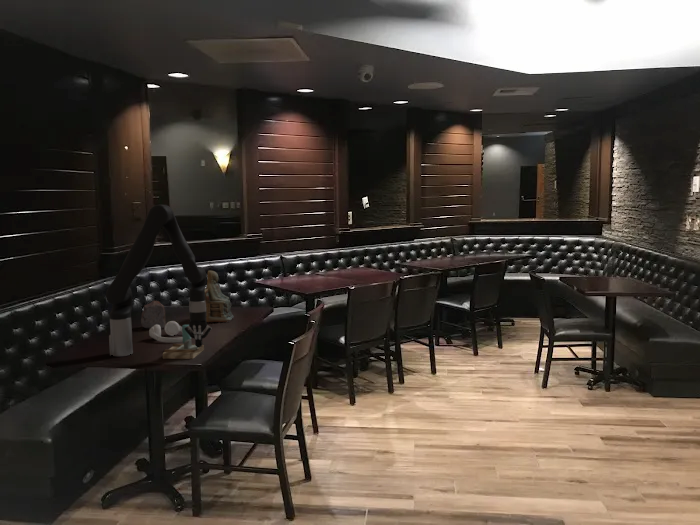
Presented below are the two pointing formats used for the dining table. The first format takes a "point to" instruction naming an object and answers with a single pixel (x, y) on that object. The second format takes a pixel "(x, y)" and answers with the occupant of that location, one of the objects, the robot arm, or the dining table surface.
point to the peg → (185, 334)
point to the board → (181, 352)
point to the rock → (153, 315)
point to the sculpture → (216, 301)
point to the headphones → (170, 329)
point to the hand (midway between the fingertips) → (199, 346)
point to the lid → (188, 345)
